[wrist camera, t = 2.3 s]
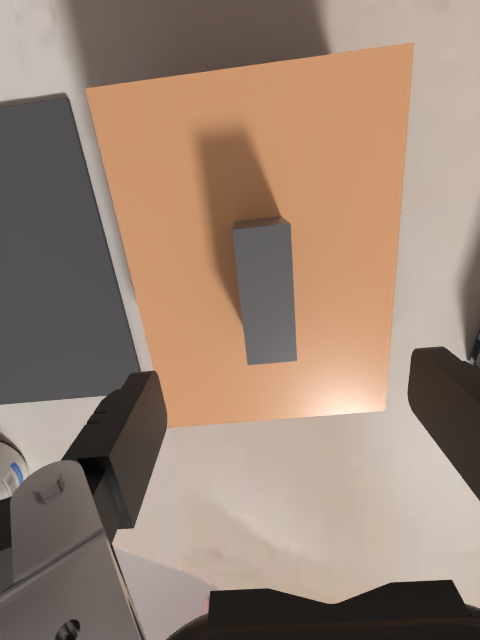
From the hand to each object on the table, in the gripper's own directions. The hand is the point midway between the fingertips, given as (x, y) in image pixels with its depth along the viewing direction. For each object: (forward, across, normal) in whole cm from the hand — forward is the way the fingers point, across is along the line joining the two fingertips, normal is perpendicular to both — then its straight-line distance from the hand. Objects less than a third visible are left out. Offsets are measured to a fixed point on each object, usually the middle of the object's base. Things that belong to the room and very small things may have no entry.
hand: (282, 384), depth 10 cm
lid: (+14, 0, 0) cm, 14 cm away
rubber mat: (+22, +26, 0) cm, 34 cm away
